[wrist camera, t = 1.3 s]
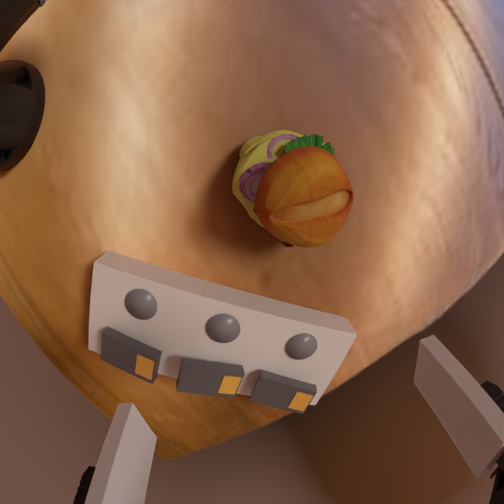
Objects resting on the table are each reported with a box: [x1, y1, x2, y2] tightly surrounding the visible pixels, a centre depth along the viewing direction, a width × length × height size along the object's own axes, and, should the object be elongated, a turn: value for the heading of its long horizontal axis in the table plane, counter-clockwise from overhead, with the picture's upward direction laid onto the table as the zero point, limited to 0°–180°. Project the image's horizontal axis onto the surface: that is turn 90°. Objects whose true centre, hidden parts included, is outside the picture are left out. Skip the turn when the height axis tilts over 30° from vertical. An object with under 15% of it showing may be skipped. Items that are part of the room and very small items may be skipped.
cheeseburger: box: [232, 130, 353, 247], centre depth 27 cm, size 10×11×10 cm
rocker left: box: [101, 327, 162, 384], centre depth 29 cm, size 7×4×2 cm, turn 72°
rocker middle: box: [176, 357, 245, 397], centre depth 30 cm, size 7×4×2 cm, turn 72°
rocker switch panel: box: [88, 250, 357, 405], centre depth 33 cm, size 30×12×4 cm, turn 72°
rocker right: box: [250, 370, 317, 414], centre depth 31 cm, size 7×4×2 cm, turn 72°
